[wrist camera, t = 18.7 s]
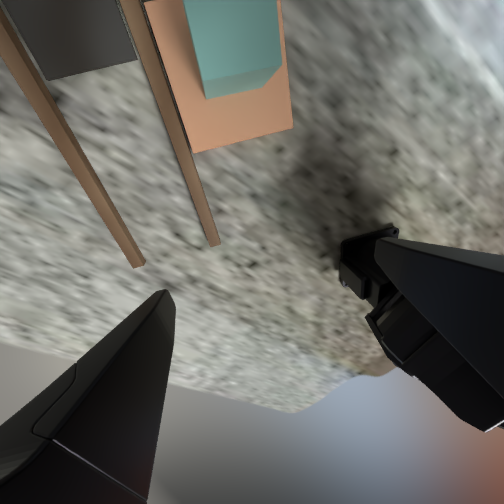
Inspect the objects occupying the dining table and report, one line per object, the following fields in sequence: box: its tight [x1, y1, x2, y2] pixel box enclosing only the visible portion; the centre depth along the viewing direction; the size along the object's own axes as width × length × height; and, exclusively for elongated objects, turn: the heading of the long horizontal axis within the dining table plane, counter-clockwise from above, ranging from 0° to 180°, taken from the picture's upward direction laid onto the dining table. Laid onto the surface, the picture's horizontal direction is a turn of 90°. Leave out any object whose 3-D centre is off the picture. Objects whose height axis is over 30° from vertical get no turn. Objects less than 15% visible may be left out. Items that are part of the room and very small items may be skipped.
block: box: [182, 0, 282, 99], centre depth 11 cm, size 4×4×5 cm
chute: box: [0, 0, 221, 268], centre depth 15 cm, size 8×18×1 cm, turn 13°
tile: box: [144, 0, 293, 153], centre depth 14 cm, size 8×8×1 cm
